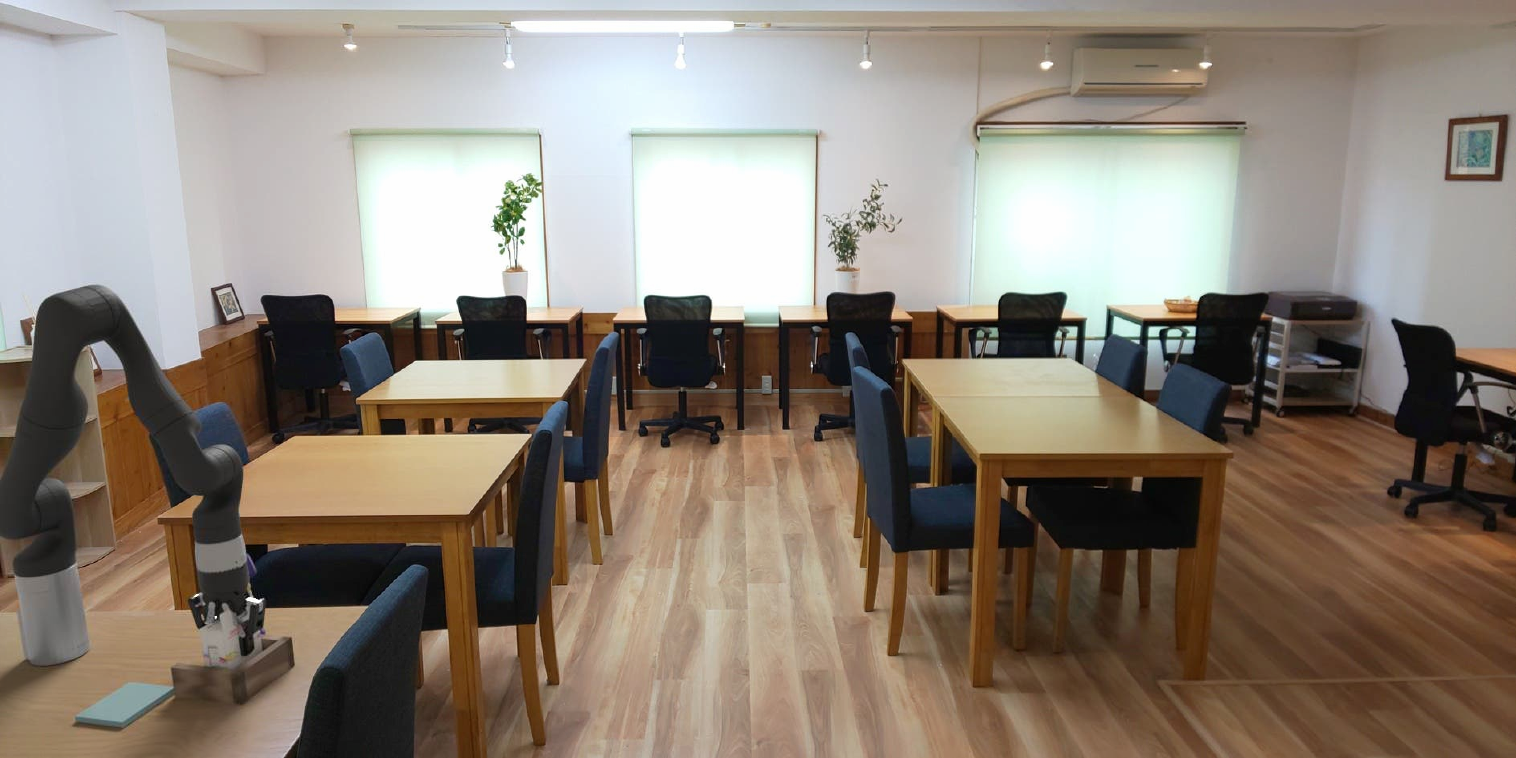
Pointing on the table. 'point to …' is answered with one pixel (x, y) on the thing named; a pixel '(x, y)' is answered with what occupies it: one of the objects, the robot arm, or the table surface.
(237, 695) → the walnut cubby
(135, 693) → the teal coaster
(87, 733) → the table surface
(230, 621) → the ink cartridge box
